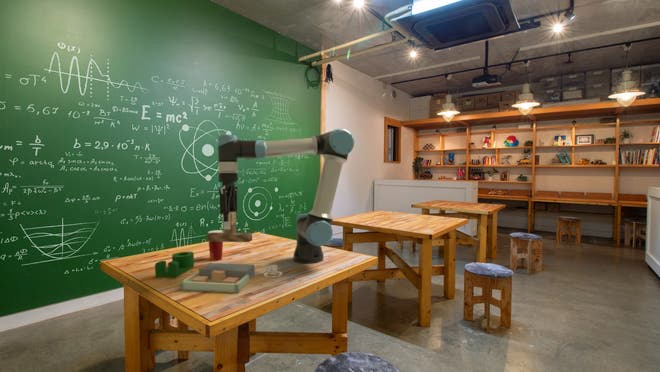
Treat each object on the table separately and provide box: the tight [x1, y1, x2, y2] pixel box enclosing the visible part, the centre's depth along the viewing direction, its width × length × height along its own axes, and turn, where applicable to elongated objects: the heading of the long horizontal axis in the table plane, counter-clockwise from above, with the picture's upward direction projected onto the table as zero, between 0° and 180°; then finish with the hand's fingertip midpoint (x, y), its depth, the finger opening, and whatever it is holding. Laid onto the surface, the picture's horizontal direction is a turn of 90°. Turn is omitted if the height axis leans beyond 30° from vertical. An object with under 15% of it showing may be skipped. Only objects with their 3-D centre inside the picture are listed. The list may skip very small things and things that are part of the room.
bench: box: [198, 262, 255, 281], centre depth 134 cm, size 20×9×4 cm, turn 83°
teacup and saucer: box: [263, 264, 283, 278], centre depth 139 cm, size 9×8×4 cm
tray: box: [179, 272, 250, 294], centre depth 124 cm, size 22×11×3 cm, turn 82°
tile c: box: [191, 276, 208, 282], centre depth 124 cm, size 4×4×2 cm
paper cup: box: [207, 229, 224, 262], centre depth 161 cm, size 8×8×14 cm
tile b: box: [211, 270, 225, 283], centre depth 126 cm, size 4×4×2 cm
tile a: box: [222, 277, 239, 284], centre depth 123 cm, size 4×4×2 cm
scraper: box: [206, 211, 253, 243], centre depth 135 cm, size 18×4×12 cm, turn 83°
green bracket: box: [154, 251, 195, 279], centre depth 143 cm, size 18×9×6 cm, turn 175°
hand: (229, 228), depth 135 cm, fingers closed on scraper, 4 cm apart
